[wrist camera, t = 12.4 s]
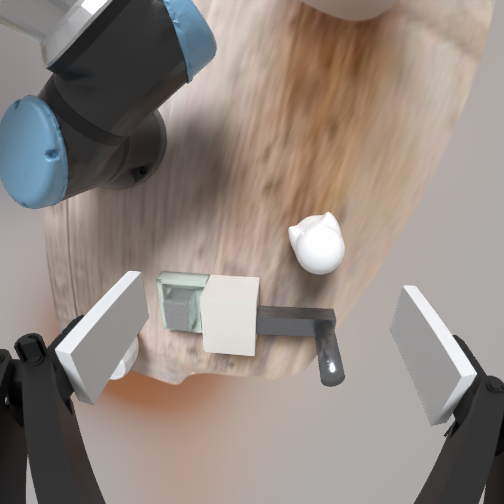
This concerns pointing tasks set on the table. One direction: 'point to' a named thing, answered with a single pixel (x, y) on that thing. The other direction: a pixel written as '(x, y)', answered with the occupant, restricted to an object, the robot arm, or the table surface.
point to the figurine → (318, 243)
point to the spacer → (180, 309)
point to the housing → (230, 314)
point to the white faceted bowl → (126, 361)
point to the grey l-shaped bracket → (306, 334)
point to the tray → (182, 281)
